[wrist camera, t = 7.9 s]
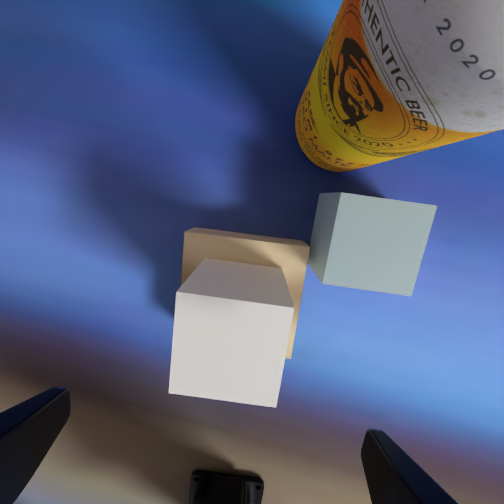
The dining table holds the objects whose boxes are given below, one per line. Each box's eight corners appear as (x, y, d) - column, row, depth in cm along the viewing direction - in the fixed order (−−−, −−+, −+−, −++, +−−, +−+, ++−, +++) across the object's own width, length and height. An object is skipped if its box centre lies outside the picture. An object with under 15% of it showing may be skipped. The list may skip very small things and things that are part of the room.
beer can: (275, 114, 17) (372, -361, 2) (355, 51, 16) (1222, -1243, 2) (325, 191, 18) (607, 170, 3) (403, 135, 17) (1224, -206, 3)
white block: (270, 337, 18) (276, 407, 12) (198, 327, 18) (168, 393, 12) (282, 268, 17) (294, 308, 11) (205, 257, 17) (176, 291, 11)
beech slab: (286, 336, 21) (290, 358, 18) (188, 324, 21) (176, 344, 18) (302, 239, 19) (310, 247, 16) (195, 226, 19) (184, 231, 16)
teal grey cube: (372, 270, 19) (411, 296, 14) (306, 261, 19) (322, 283, 14) (389, 203, 18) (437, 205, 13) (319, 193, 18) (341, 192, 13)
